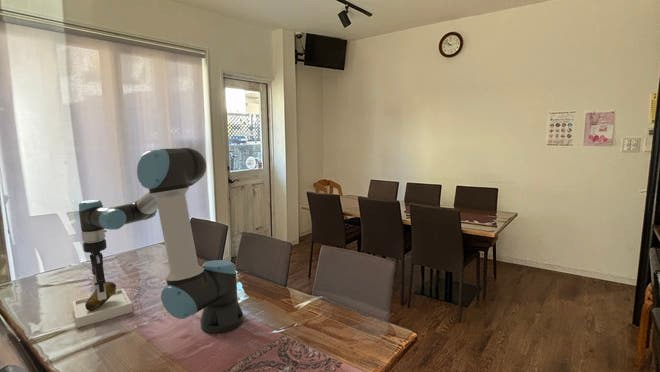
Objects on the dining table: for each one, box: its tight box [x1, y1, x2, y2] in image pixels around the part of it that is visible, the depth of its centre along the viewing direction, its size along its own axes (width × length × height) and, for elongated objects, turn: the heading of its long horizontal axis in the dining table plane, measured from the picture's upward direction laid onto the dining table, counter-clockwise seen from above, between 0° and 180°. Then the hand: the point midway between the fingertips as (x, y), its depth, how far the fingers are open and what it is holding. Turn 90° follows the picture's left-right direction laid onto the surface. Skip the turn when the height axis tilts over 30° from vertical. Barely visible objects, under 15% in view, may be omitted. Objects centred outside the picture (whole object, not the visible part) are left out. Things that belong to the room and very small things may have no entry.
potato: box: [85, 281, 117, 311], centre depth 142 cm, size 8×13×8 cm, turn 152°
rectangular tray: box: [71, 287, 133, 329], centre depth 143 cm, size 18×18×4 cm
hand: (100, 294), depth 142 cm, fingers open, 10 cm apart
